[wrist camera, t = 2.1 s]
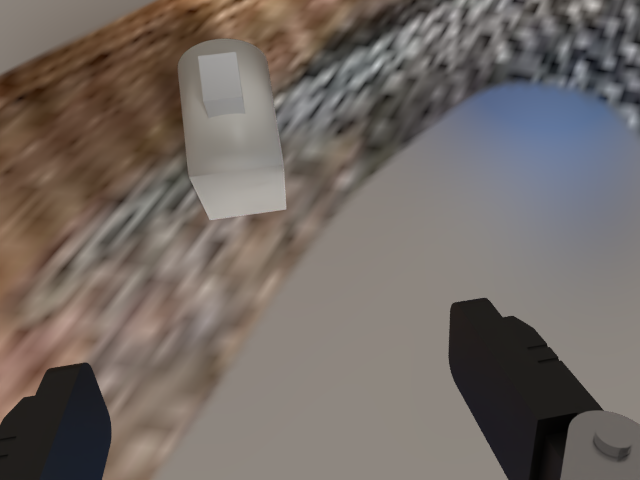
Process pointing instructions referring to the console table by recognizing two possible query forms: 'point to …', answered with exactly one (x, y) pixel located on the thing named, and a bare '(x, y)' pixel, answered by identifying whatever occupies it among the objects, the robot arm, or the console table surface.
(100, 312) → the console table surface
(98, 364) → the console table surface
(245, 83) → the cylinder
